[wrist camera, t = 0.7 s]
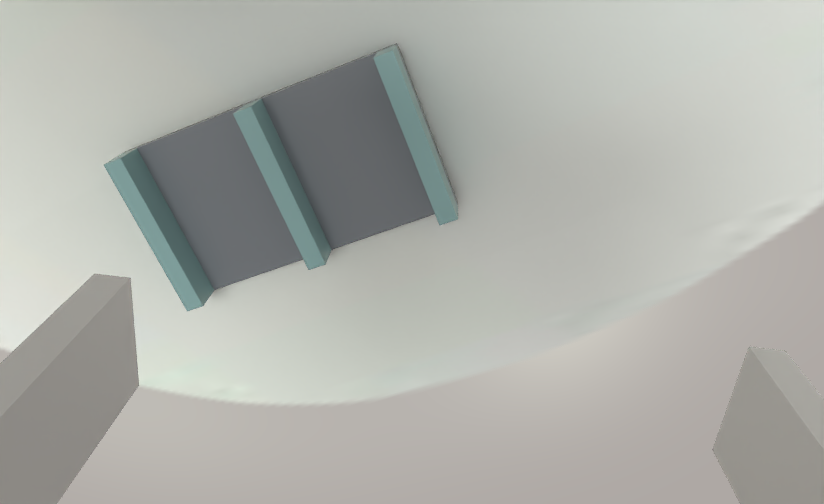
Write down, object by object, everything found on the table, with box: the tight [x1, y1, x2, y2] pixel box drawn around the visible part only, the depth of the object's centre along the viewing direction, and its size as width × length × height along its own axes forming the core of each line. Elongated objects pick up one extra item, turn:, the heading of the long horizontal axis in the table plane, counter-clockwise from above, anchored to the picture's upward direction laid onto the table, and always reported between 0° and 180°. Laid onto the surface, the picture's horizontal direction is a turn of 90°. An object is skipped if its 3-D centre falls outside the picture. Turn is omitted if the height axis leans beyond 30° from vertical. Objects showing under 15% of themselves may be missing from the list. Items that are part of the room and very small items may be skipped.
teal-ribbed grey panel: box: [104, 44, 458, 311], centre depth 37 cm, size 9×16×3 cm, turn 111°
